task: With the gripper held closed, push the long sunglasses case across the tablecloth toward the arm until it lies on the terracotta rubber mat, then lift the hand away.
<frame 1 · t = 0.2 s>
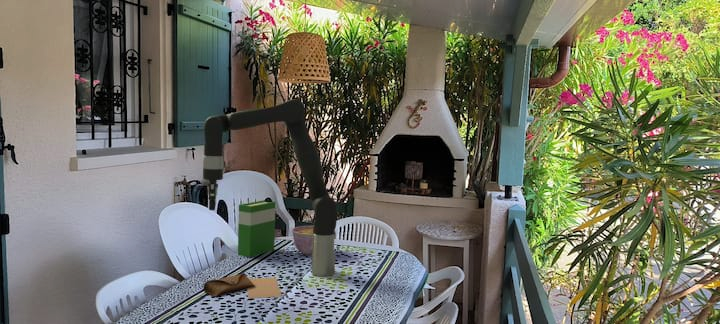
hand: (212, 208, 193), 29 cm above the table, tool pointing down, fingers open, 8 cm apart
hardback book: (256, 252, 238), on the table
bowl of food: (311, 253, 240), on the table
sunglasses case: (230, 289, 185), on the table, touching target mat
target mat: (262, 287, 188), on the table
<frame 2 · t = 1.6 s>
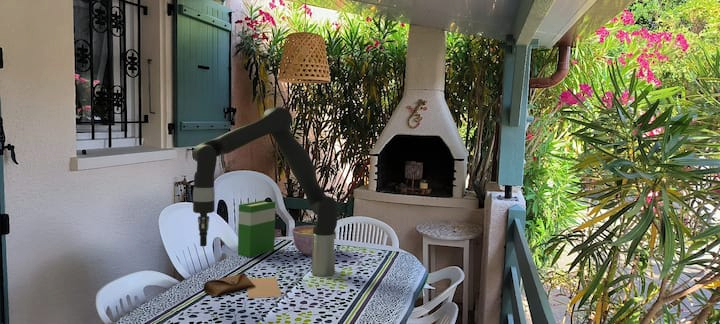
hand: (203, 245, 181), 17 cm above the table, tool pointing down, fingers closed
nothing on the table moved.
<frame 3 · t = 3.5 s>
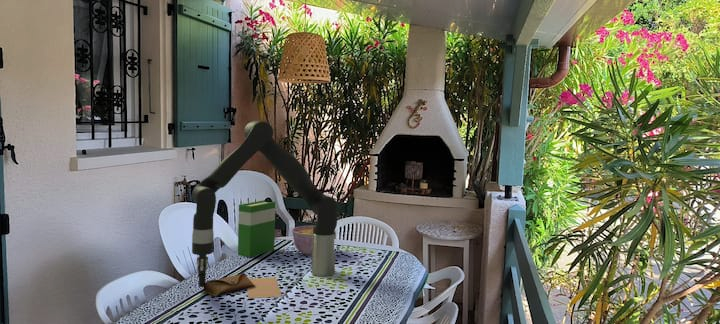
hand: (202, 286, 182), 2 cm above the table, tool pointing down, fingers closed
sunglasses case: (230, 289, 185), on the table, touching gripper, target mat
everything else where it was.
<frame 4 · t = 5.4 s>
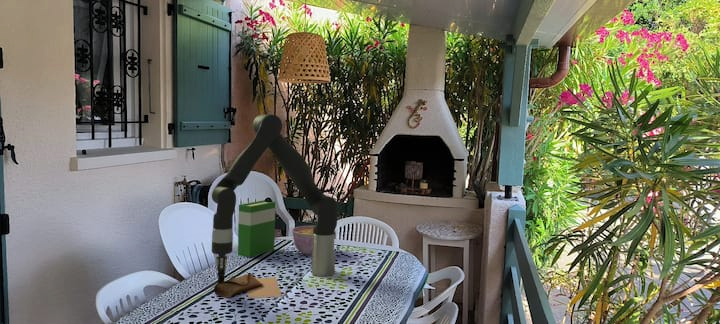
hand: (220, 285, 184), 2 cm above the table, tool pointing down, fingers closed
sunglasses case: (239, 290, 185), on the table, touching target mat
everything else where it was.
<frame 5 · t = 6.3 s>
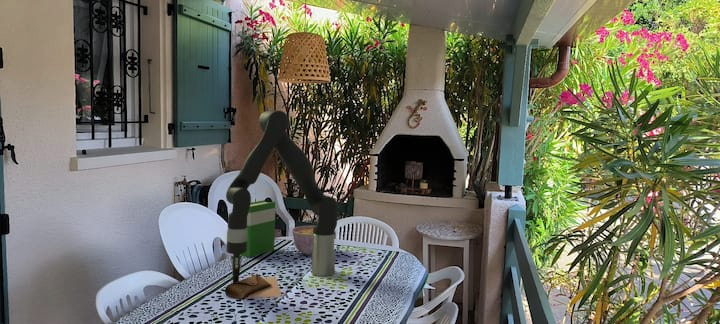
hand: (235, 284, 185), 2 cm above the table, tool pointing down, fingers closed
sunglasses case: (249, 290, 184), on the table, touching gripper, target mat
everything else where it was.
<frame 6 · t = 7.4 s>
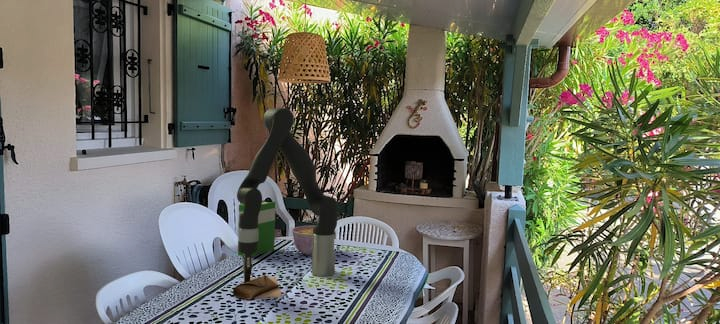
hand: (247, 284, 187), 2 cm above the table, tool pointing down, fingers closed
sunglasses case: (257, 291, 183), on the table, touching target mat
everything else where it was.
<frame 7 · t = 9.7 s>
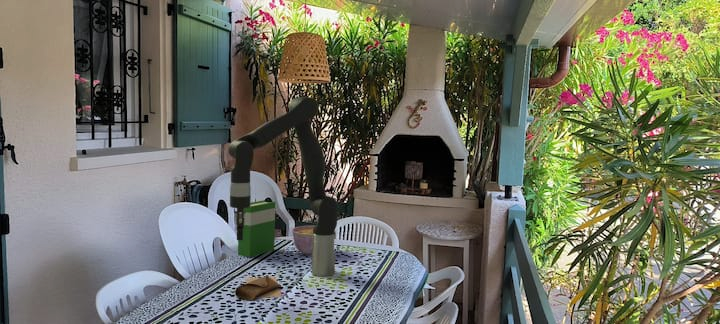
hand: (239, 239, 184), 19 cm above the table, tool pointing down, fingers closed
nothing on the table moved.
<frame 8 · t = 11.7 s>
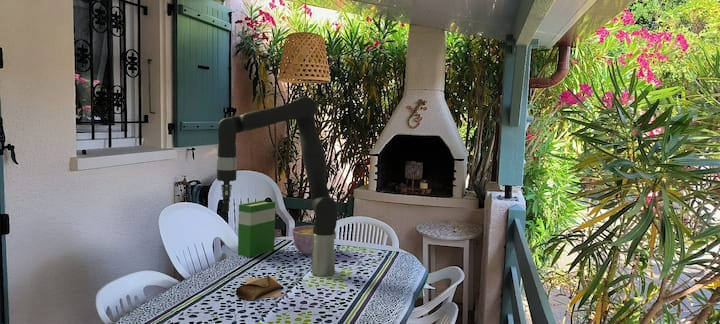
hand: (226, 211, 196), 27 cm above the table, tool pointing down, fingers closed
at the end: sunglasses case inside the target area (5.2 cm from its centre), on the table; sunglasses case moved 12.0 cm from its start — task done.
